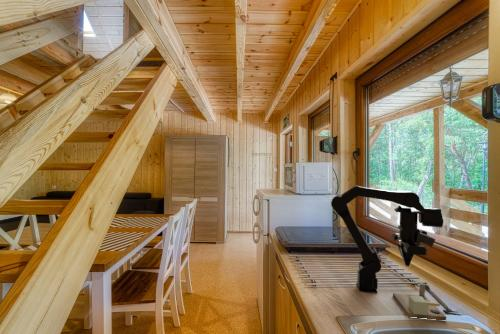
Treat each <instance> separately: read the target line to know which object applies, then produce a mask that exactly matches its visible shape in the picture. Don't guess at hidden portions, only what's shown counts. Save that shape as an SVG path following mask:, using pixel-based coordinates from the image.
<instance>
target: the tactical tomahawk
mask: <svg viewBox="0 0 500 334" xmlns="http://www.w3.org/2000/svg"><path fill="white" fill-rule="evenodd" d="M424 284H425V283H424ZM425 291H426V292H427V293H428V294H430V295H431V297H433V298H434V300H436V301H437V303H439V304H440V305H441V306H442V308H444V309H443V310H442V313H443V314H447V315H448V314H449V315H453V316H454V315H455V316H461V317H462V314H459V311H454V310H452V308H449V306H448V305H447V304H446V303H445V302H444V301H443V300H442V299H441V298H440V297H439V296H438V295H437V294H436V293H435V292H433V291H432V289H431V287H430V286H429V285H428V284H425Z"/></svg>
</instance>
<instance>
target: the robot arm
mask: <svg viewBox="0 0 500 334" xmlns="http://www.w3.org/2000/svg"><path fill="white" fill-rule="evenodd" d="M358 197H363V198H368V199H369V198H370V199H376V200H381V201H388V202H392V203H395V204H397V205H398V206H396V207H395V208H393V209H394V211H395V213H399V224H398V225H397V229H399V232H393V233H392V235H391V240H392V241H393V242H396V241H398V243H396V244H395V245H396V247H397V249H398V251H399V253H400V256H401V258H402V260H403V263H404V266H406V267H410V264H411V262H412V259H413V257H414V255H415V256H416V255H419V256H427V255H428V249H427V248H426V247H425V246H424V245H427V246H428V247H430V248H433V246H434V244H435V242H436V239H435V238H434V237H433V236H430V235H429V234H428V232H427V231H426V230H424V229H419V228H418V223H419V224H421V225H422V227H430V228H441V229H442V228H443V226H444V217H443V214H442V209H441V208H438V207H437V208H436V207H434V208H431V207H429V208H428V207H424V206H423V204H422V203H421V202H420V199H421V198H420V197H419V195H418V194H417V193H415V192H413V191H411V190H385V189H379V188H378V189H377V188H371V187H366V186H359V185H354V186H352V187H351V188H349V189H348V190H347V191H345V192H343V193H342V194H336V195H335V196H333V198H332V199H331V202H330V206H331V207H332V209H333V210H334V212H335V213H336V214H337V216H339V217H340V218H341V220H342V221H343V223H344V224H345V226H346V229H347V230H348V231H349V234H350V236H351V237H352V239H353V241H354V242H355V245H356V247H357V248H358V250H359V251H360V255H361V259H362V260H361V261H360V262H359V263H358V270H357V282H356V283H355V284H356V287H357V289H358V290H359V292H364V293H375V294H378V287H379V286H378V283H379V282H378V281H379V280H378V278H377V273H379V272H380V271H381V270H382V259H381V255H379V254H378V252H377V249H376V247H373V248H371V246H370V245H369V244H368V243H367V241H366V239H365V237H364V235H363V234H362V232H361V230H360V228H359V226H358V224H357V223H356V220H355V219H354V217H353V216H352V214H351V211H350V208H349V207H350V206H349V205H348V204H349V203H351V202H352V201H353V200H354V199H356V198H358ZM402 206H403V207H402ZM412 209H415V210H412ZM421 243H422V244H424V245H422V244H421Z"/></svg>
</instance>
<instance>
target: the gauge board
mask: <svg viewBox="0 0 500 334" xmlns="http://www.w3.org/2000/svg"><path fill="white" fill-rule="evenodd" d="M418 288H419V289H418V290H419V292H418V293H419V295H418V294H409V293H396V292H393V293H392V298H393V299H394V300H395V302H396V303H397V305H398V306H399V307H400V309H401V310H402V312H403V313H404V314H405V315H406V317H407V316H408V317H417V318H427V319H436V320H446V321H447V316H446V315H445V313H444V312H443V311H441V310H440V309H439V308H438V306H429V305H428V315H420V314H414V313H413V312H412V311H411V310H410V308H409V295H410V296H421V297H423V298H424V299H425V300H426V301H427V302H432V301H431V299H429V298H428V297H427V296H426V294H425V291H426V289H425V283H422V282H421V283H419V286H418ZM408 317H407V318H408Z"/></svg>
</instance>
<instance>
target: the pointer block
mask: <svg viewBox="0 0 500 334" xmlns="http://www.w3.org/2000/svg"><path fill="white" fill-rule="evenodd" d="M410 295H411V294H410ZM410 295H409V308H410V310H411V311H412V312H413V313H414V314H420V315H428V305H429V306H436V307H441V306H440V305H441V304H440V303H439V302H434V301H431V302H427V301H426V300H425V299H424V298H423V297H421V296H410Z"/></svg>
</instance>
